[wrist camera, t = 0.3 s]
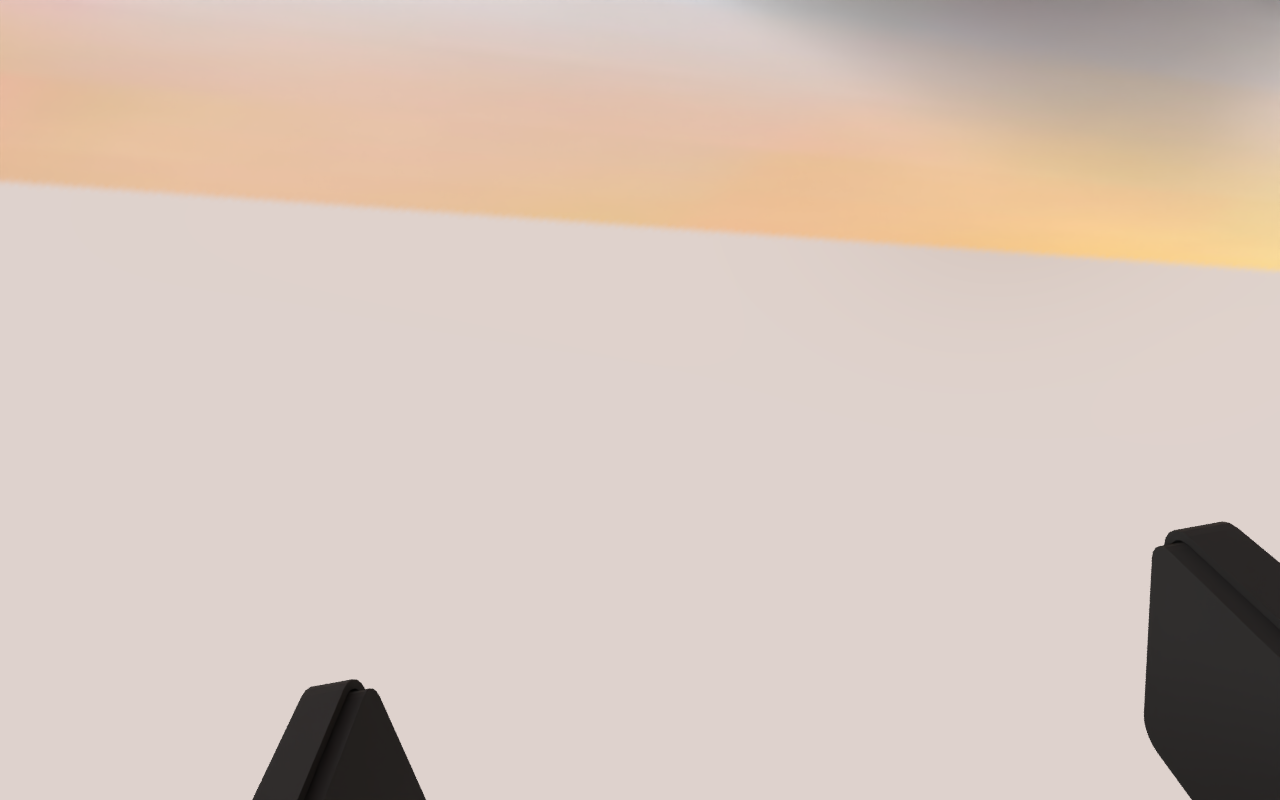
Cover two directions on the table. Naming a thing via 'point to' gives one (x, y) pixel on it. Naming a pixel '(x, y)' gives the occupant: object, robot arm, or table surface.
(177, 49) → the table surface
